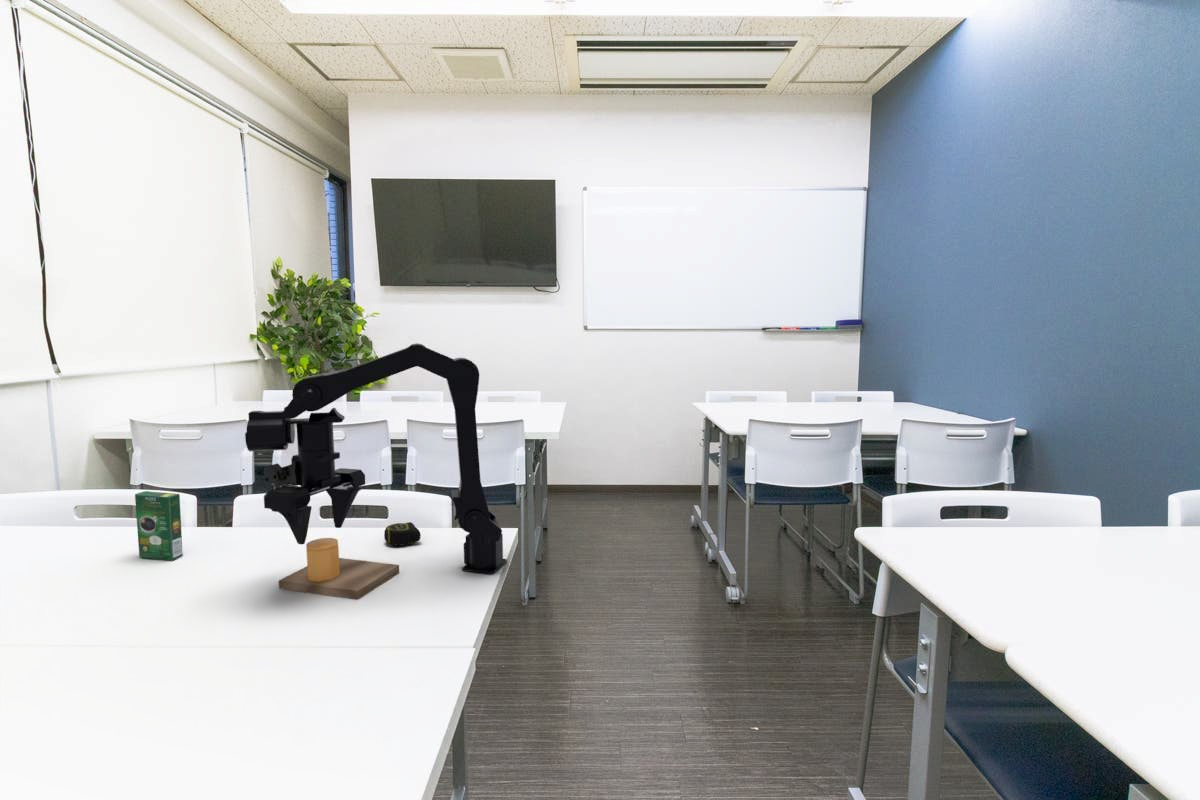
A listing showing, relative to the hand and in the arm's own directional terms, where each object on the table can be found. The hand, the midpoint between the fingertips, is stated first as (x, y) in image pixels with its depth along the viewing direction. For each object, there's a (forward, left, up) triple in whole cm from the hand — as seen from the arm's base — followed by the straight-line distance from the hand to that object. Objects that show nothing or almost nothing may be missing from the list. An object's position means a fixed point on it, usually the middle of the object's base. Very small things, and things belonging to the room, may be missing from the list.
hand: (320, 535), depth 109 cm
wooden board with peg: (-2, -2, -9) cm, 9 cm away
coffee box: (+40, -2, -9) cm, 41 cm away
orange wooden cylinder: (0, 0, -7) cm, 7 cm away
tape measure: (-1, -23, -9) cm, 25 cm away
